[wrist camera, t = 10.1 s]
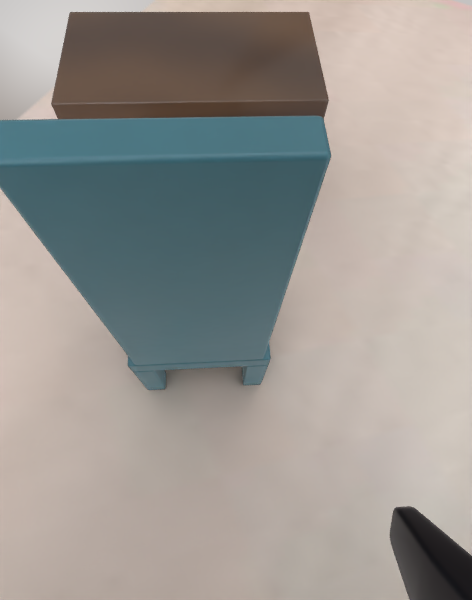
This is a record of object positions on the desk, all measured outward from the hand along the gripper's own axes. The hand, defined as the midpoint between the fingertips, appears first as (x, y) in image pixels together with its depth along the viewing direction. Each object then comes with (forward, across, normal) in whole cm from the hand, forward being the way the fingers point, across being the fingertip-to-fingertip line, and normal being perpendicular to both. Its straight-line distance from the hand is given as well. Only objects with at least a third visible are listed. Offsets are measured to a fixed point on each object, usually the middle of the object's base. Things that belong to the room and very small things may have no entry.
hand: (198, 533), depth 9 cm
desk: (+18, 0, -8) cm, 19 cm away
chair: (+10, 0, 0) cm, 10 cm away
